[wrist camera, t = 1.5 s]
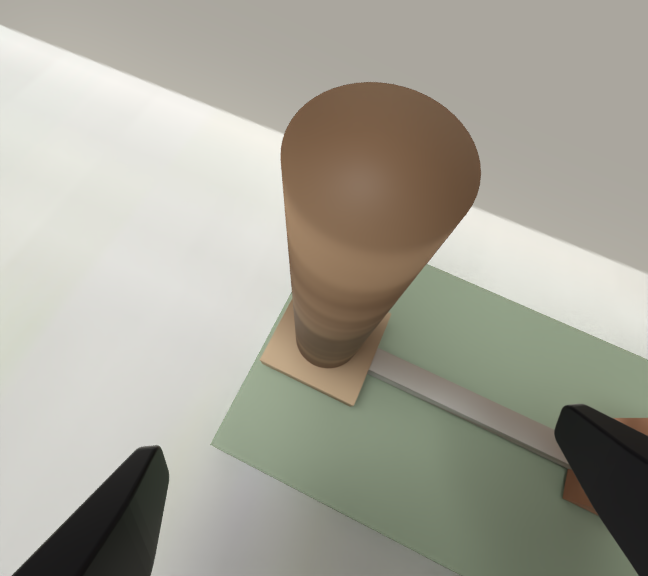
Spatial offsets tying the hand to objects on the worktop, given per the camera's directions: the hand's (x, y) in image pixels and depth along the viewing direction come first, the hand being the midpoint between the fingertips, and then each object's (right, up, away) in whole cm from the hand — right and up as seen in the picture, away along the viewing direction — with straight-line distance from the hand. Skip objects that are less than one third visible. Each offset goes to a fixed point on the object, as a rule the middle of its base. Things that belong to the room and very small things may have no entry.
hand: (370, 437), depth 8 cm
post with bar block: (+6, -3, +11) cm, 12 cm away
